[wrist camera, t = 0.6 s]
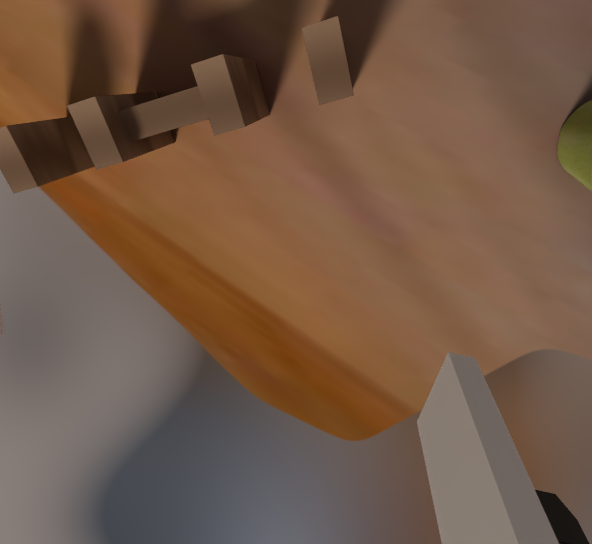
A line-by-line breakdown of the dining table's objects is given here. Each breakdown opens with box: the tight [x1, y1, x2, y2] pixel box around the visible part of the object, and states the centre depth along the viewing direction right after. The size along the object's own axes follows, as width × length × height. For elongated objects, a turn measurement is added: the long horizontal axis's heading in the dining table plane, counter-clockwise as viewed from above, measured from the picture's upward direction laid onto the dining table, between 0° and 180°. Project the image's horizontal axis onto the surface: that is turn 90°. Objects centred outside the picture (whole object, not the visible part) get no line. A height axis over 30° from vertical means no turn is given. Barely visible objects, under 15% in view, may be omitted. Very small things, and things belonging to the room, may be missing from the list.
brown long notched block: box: [0, 16, 354, 193], centre depth 29 cm, size 4×24×9 cm, turn 105°
